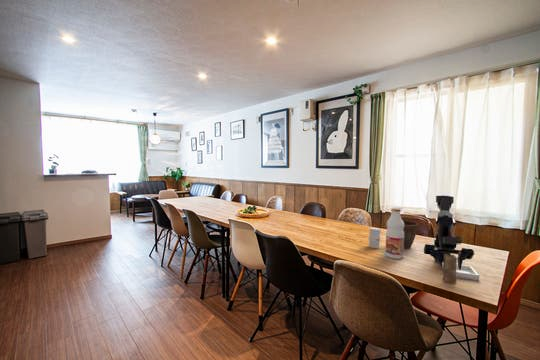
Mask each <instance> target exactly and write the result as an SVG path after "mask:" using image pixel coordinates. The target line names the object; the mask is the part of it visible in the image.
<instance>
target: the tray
mask: <svg viewBox="0 0 540 360" xmlns="http://www.w3.org/2000/svg"><path fill="white" fill-rule="evenodd" d="M443 264H444V262H442V268H441V269H443ZM456 278H461V279H465V280H466V279H467V280H473V281H480V274H478V272H477V271H476V270H475V269H474V268H473V267H472V266H471V265H465V264H462V266H461V270H459V268H458V263H457V266H456Z"/></svg>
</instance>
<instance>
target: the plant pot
mask: <svg viewBox="0 0 540 360" xmlns="http://www.w3.org/2000/svg"><path fill="white" fill-rule="evenodd" d="M402 220H403V219H402ZM403 222H404V228H403V231H404V249H411V248H412V246H413V243H414V241H415V238H416V236H417V233H418V227H419V223H418V222H416V221H412V220H411V221H410V220H406V219H405V220H403Z"/></svg>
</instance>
